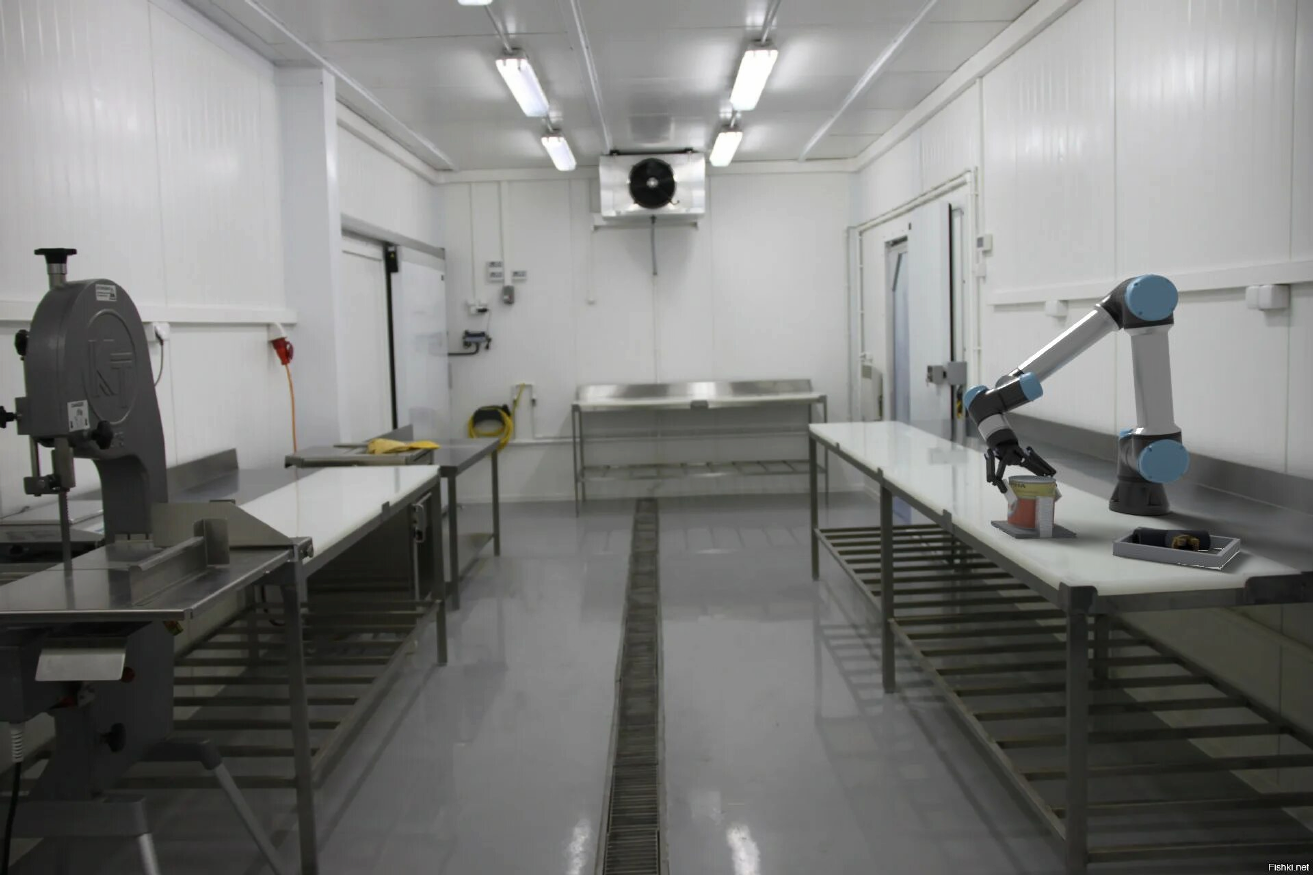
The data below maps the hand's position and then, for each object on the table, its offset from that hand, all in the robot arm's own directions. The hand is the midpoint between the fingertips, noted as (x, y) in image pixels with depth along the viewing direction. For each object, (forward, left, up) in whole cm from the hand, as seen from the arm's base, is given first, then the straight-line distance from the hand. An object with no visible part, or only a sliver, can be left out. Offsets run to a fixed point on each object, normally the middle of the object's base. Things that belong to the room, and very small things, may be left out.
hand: (1036, 501), depth 229 cm
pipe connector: (-33, +3, -8) cm, 34 cm away
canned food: (+2, -2, -7) cm, 7 cm away
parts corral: (-33, +3, -8) cm, 34 cm away
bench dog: (-4, +5, -8) cm, 10 cm away
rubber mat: (+1, 0, -8) cm, 8 cm away
